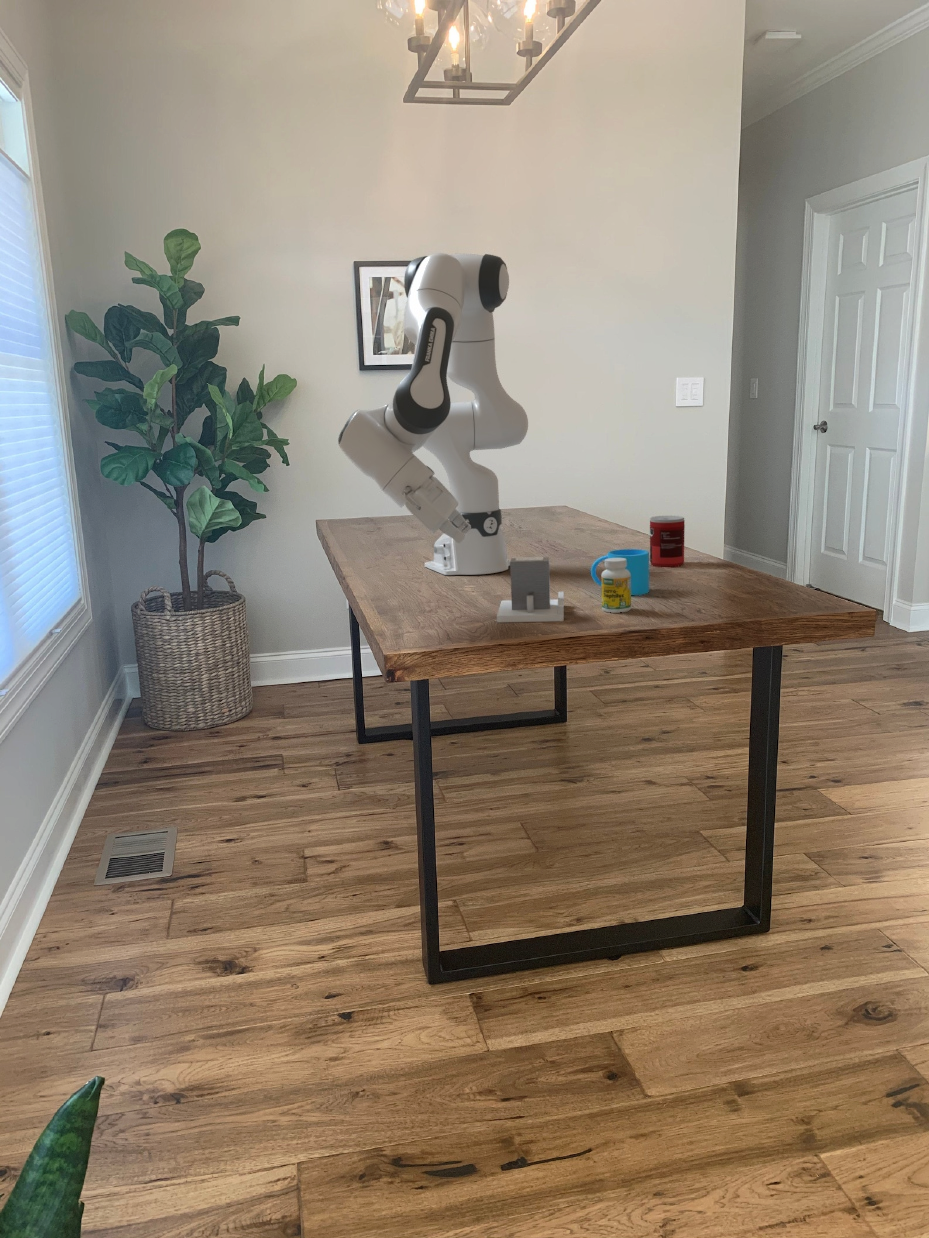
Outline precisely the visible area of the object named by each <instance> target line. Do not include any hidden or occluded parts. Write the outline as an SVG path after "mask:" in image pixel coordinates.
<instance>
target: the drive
mask: <svg viewBox="0 0 929 1238" xmlns="http://www.w3.org/2000/svg"><path fill="white" fill-rule="evenodd" d="M510 560H511V561H510V566H509V568H510V570H509V571H510V593H511V594H510V595H511V596H510V597H511V598H510V600H512V610H527V596H528V595H533V604H534V610H537V609H550V599H551V584H550V583H551V581H550V579H551V578H550V577H551V576H550V575H551V574H550V557H549V556H548V557H545V556H531V557H530V556H529V557H528V556H526V557H524V556H523V557H521V556H520V557H515V558H513V557H511V558H510Z"/></svg>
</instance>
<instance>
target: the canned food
mask: <svg viewBox="0 0 929 1238" xmlns="http://www.w3.org/2000/svg"><path fill="white" fill-rule="evenodd" d="M649 519H650V520H649V564H650V565H651V566H652V565H653V566H652V567H656V568H662V567H671V568H679V567H682V566H684V563H685V528H686V527H685V525H686V524H685V517H684V516H680V515H656V516H652V517H650V518H649ZM681 565H682V566H681ZM678 566H679V567H678Z"/></svg>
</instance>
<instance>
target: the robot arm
mask: <svg viewBox="0 0 929 1238" xmlns="http://www.w3.org/2000/svg"><path fill="white" fill-rule="evenodd" d="M404 271H405V272H404V281H403V284H404V291H405V292H404V293H405V297H406V302H405V306H404V307H405V308H404V312H403V332H404V333H403V334H404V335H405V336H406V338H407V339H408V340H409V341H410V342H411V343H412V344H413V345H414V346H415V349H414V354H413V359H412V364H411V369H410V371H409V372H408V373H407V374H406V375H405V377H403V379H402V380H401V381H400V383H399V384H398V386H397V389H396V390H395V392H394V395H393V396H392V398H391V400H390V401H389V403H387V404H385V405H382V406H380V407H376V408H372V409H365V410H364V409H357V410H355V411H354V412H353V413H352V414H351V415H350V417H348V419H347V420H346V422H345V424H344V426H343V428H342V429H341V430H340V433H339V435H338V439H337V440H338V446H339V448H340V449H341V451H342V452H343V454H344V455H345V456H346V457H347V458H348V459H349V461H351V463H352V464H353V465H354V466H355V467H356V468H357V469H358V470H360V472H361V473H362V474H364V475H365V476H367V477H369V478H370V479H372V480H374V482H375V483H376V484H377V485H378V487H379V488H380V490H381V491H382V492H383V493H384V494H386V496H387V497H388V498H390V499H391V500H392V501H393V502H394V503H396V505H397V506H398V507H399V508H400V509H401V508H403V507H404V506H405V508H406V509H407V510H408V511H409V512H410V514H411V515H412V516H413V517H414V518H416V520H417V521H418V522H420V523H421V524H422V526H423V527H425V528H426V530H428V531H429V532H432V533H434V534H435V533H436V532H437V531H438V530H440V532H442V535H441V536H440V537H439V538H438V539H437V540H435V542H434V545H433V560H430V561H427V562H424V568H427V569H429V570H431V571H434V572H437V573H440V574H441V575H444V576H455V575H467V576H468V575H470V576H471V575H486V574H487V575H488V574H494V573H495V574H496V573H500V572H504V571H507V570H508V569H509V567H510V561H511V559H509V557H508V549H507V542H506V535H505V532H504V531H503V530H502V527H501V525H502V523H503V521H502V518H503V514H502V509H500V501H499V500H500V495H499V478H498V476H497V474H496V473H495V472H494V471H493V470H492V469H490V468H488V467H486V466H484V465H482V464H480V463H477V462H475V461H473V460H472V458H471V452H472V451H483V450H498V449H499V450H502V449H505V448H506V449H507V448H509V447H510V448H511V447H514V446H517V445H520V444H521V443H522V442H523V440H524V439H525V438H526V435H527V433H528V430H529V417H528V415H527V412H526V411H525V409H524V407H523V406H522V405H521V404H520V403H519V402H517V400H515V399H513V398H512V397H511V396H510V395H509V394H508V393H507V391H506V389H505V388H504V387H503V385H502V383H501V381H500V378H499V375H498V371H497V363H496V362H497V361H496V345H495V344H496V343H495V322H494V321H495V320H494V314H493V313H494V312H495V310H496V309H497V308H499V307H500V306H501V305H502V304H503V303H504V302H505V300H506V299H507V296H508V291H509V288H510V287H509V285H510V276H509V273H508V271H509V270H508V266H507V264H506V263H505V261H504V260H503V259H502V257H500V256H498V255H494V254H489V253H488V254H487V253H485V254H484V255H483V254H476V253H458V252H457V253H454V254H448V253H444V252H435V253H432V254H429V255H424V256H419V257H417V258H415V259H412V260H411V261H410V262H409V263H408V264H407V266H406V268H405V270H404ZM447 377H448V378H449V380H450V381H452V382H453V383H455V384H457V385H458V386H460V387H462V388H465V389H467V390H469V391H471V392H472V393H473V395H474V399H473V400H471V401H459V402H458V401H455V402H451V395H450V390H449V386H448V381H447ZM421 448H424V449H426V450H427V451H429V452H430V453H431V454H433V455H434V457H435V458H437V460H438V461H439V462H440V463H441V465H442V466H443V468H444V470H445V473H446V475H447V478H448V482H449V489H450V491H449V489H448V488H446V487H445V485H444V484H443V483H442V482H441V481H440V480H439V479H438V478H437V477H435V476H434V475H435V471H434V470H433V469H432V468H431V467H429V466H428V465H426V464H425V463H424V462H423V461H422V460H420V458H418V457H417V456H416V455H415V454H414V452H416V451H418V450H420V449H421Z"/></svg>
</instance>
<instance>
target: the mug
mask: <svg viewBox="0 0 929 1238" xmlns="http://www.w3.org/2000/svg"><path fill="white" fill-rule="evenodd" d="M608 558H625V559H626V560H627V566H626V567H625V569H627V570H628V571H629V572H630V574H631V595H639V596H643V595H642V594H644V595H646V594H645V593H647V594H649V593H650V551H648V550H646V549H637V548H628V549H627V548H625V549H623V548H622V549H614V550H610V551H608V552H607V554H606V555H603V556H601V557H599V558H597V559H596V560H595V561H594V562H593V564H591V568H590V573H591V578H592V579H593V581H594V583H596V584H597V585H599V587H601V588H602V584H601V580H600V579H599V577H598V576H597V573H596V571H597V567H598V565H599V564H600V563H601V562H603V561H605V559H608ZM648 592H649V593H648Z"/></svg>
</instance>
